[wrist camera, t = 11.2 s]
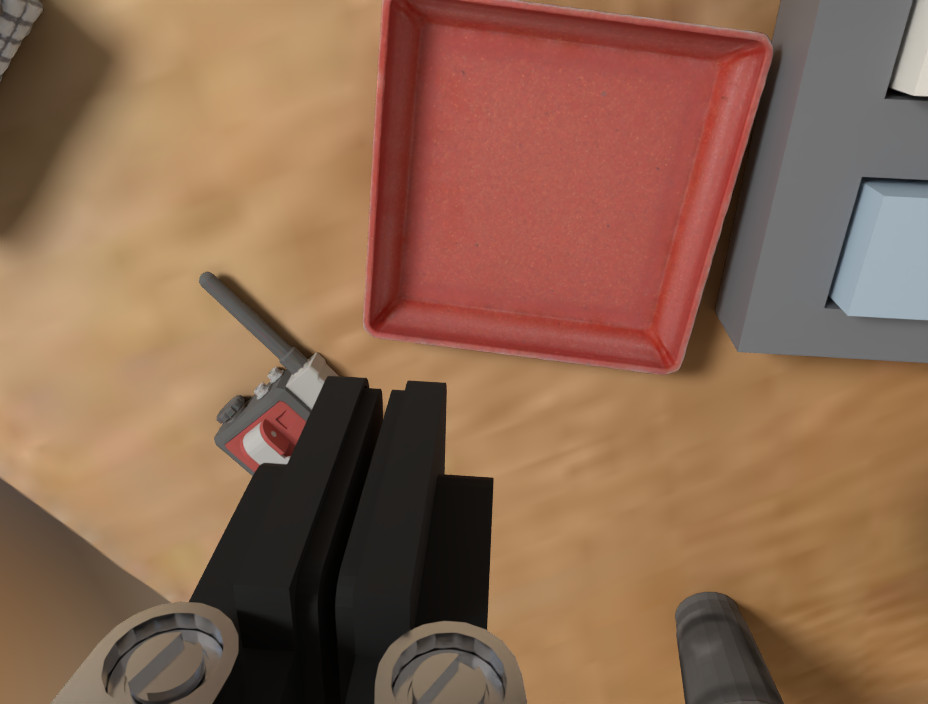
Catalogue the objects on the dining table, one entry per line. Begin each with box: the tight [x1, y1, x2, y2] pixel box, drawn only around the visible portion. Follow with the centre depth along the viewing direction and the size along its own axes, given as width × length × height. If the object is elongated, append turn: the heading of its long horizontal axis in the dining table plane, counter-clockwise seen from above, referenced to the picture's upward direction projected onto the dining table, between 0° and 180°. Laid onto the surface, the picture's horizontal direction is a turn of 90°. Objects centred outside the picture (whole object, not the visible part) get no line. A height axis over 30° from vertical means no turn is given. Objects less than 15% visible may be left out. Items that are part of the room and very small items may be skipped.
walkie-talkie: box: [199, 272, 338, 476], centre depth 46 cm, size 9×4×20 cm
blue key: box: [828, 177, 928, 320], centre depth 36 cm, size 6×6×5 cm
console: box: [715, 0, 928, 363], centre depth 35 cm, size 22×14×5 cm, turn 178°
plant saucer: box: [363, 0, 774, 375], centre depth 39 cm, size 18×18×3 cm
